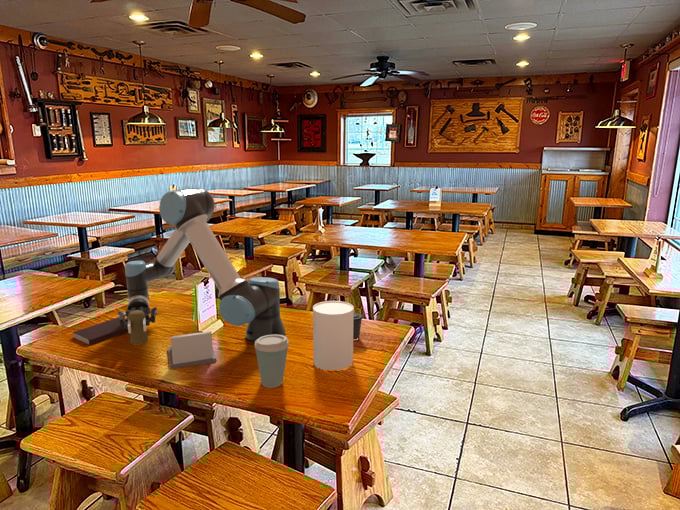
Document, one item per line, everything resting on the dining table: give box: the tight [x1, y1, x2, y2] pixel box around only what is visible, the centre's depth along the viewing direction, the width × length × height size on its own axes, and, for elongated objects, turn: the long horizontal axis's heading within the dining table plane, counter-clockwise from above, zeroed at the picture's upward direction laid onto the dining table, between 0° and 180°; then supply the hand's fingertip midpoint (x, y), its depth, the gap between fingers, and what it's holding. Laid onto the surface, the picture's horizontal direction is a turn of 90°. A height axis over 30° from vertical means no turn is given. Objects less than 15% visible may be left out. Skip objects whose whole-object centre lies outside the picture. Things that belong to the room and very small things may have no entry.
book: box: [72, 317, 128, 346], centre depth 182 cm, size 12×19×3 cm, turn 146°
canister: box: [312, 300, 355, 370], centre depth 156 cm, size 14×14×20 cm
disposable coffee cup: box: [254, 334, 290, 389], centre depth 143 cm, size 11×11×15 cm
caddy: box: [167, 330, 217, 370], centre depth 162 cm, size 16×15×10 cm
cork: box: [128, 310, 149, 346], centre depth 160 cm, size 6×6×11 cm
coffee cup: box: [353, 312, 364, 339], centre depth 177 cm, size 8×8×10 cm
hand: (137, 328), depth 155 cm, fingers closed on cork, 4 cm apart
